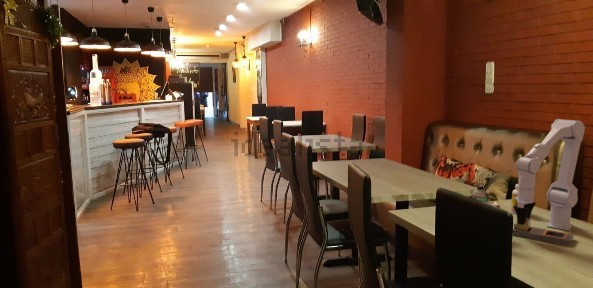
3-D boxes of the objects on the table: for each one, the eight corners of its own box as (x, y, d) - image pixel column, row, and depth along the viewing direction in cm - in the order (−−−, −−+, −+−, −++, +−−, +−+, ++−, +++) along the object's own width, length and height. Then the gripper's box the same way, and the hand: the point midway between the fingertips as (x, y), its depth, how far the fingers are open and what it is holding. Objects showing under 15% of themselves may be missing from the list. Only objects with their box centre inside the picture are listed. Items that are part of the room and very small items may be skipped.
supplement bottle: (512, 214, 204) (514, 186, 202) (509, 210, 210) (511, 183, 208) (528, 215, 202) (530, 187, 200) (525, 211, 208) (527, 184, 206)
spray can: (484, 235, 175) (488, 184, 173) (485, 239, 170) (489, 187, 168) (469, 233, 177) (472, 183, 174) (470, 238, 172) (473, 186, 169)
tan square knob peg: (518, 231, 180) (519, 216, 179) (529, 233, 178) (530, 218, 177) (516, 233, 177) (517, 218, 176) (527, 236, 175) (528, 220, 174)
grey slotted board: (510, 227, 184) (511, 222, 184) (573, 239, 171) (573, 234, 170) (504, 233, 177) (505, 228, 177) (569, 246, 164) (569, 240, 163)
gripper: (519, 183, 183) (517, 215, 185) (510, 189, 172) (507, 224, 174) (539, 185, 179) (536, 219, 180) (530, 192, 167) (527, 227, 169)
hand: (523, 221), depth 177 cm, fingers open, 7 cm apart
